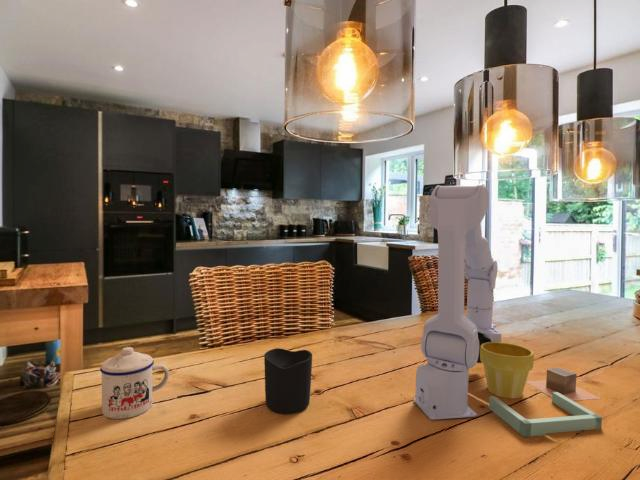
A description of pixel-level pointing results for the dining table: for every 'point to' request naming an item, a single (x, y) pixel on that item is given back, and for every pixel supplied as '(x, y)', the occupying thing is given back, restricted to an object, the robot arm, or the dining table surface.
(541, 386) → the terracotta mat
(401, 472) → the dining table surface
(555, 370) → the walnut block
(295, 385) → the pen holder
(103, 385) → the teacup with lid
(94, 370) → the dining table surface
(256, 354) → the dining table surface
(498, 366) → the plant pot
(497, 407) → the frame
